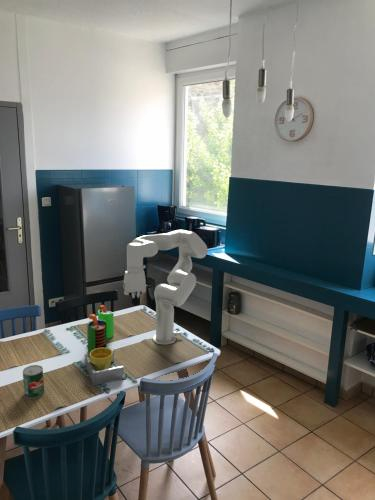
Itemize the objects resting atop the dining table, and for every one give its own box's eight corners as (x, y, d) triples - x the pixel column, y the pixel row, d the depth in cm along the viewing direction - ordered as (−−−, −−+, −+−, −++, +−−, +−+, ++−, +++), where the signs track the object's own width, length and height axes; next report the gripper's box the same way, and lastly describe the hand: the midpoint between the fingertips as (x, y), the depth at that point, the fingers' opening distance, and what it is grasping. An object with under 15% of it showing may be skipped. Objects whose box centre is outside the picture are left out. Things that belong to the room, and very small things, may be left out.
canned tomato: (32, 386, 174) (30, 363, 172) (48, 389, 172) (46, 366, 170) (20, 396, 167) (18, 373, 164) (36, 400, 165) (34, 376, 162)
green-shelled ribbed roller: (117, 334, 225) (116, 304, 220) (107, 340, 218) (106, 309, 214) (105, 330, 229) (104, 300, 225) (94, 335, 223) (93, 305, 218)
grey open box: (113, 360, 197) (113, 349, 196) (123, 378, 182) (123, 366, 181) (85, 366, 192) (85, 354, 190) (93, 385, 177) (93, 373, 175)
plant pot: (110, 378, 182) (110, 358, 180) (87, 377, 182) (87, 358, 180) (114, 366, 192) (114, 347, 190) (92, 365, 192) (92, 347, 190)
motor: (101, 358, 199) (100, 320, 194) (84, 355, 201) (82, 318, 196) (109, 348, 209) (108, 312, 204) (92, 346, 211) (91, 310, 206)
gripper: (147, 265, 199) (146, 300, 203) (117, 268, 192) (117, 304, 197) (152, 269, 192) (152, 305, 197) (121, 272, 186) (122, 309, 190)
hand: (135, 304), depth 197 cm, fingers closed
